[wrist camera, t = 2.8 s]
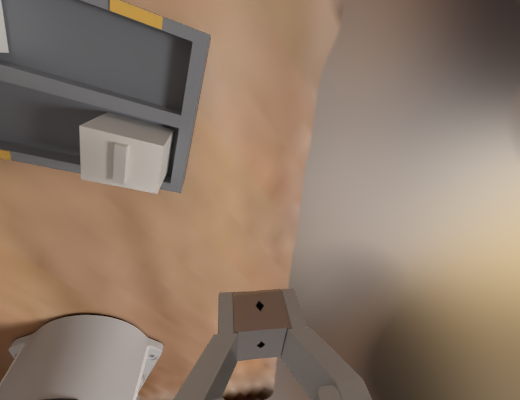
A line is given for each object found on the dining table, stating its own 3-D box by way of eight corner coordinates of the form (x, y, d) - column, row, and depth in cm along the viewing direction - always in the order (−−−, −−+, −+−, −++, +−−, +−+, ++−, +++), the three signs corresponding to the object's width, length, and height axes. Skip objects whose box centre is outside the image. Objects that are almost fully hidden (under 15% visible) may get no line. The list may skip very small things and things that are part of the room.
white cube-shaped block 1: (168, 170, 22) (155, 197, 18) (106, 156, 20) (77, 182, 16) (174, 129, 20) (162, 148, 16) (107, 112, 19) (75, 127, 14)
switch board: (184, 181, 24) (180, 193, 22) (-68, 128, 18) (-107, 137, 16) (210, 37, 18) (209, 34, 16) (-139, -97, 13) (-213, -129, 11)
